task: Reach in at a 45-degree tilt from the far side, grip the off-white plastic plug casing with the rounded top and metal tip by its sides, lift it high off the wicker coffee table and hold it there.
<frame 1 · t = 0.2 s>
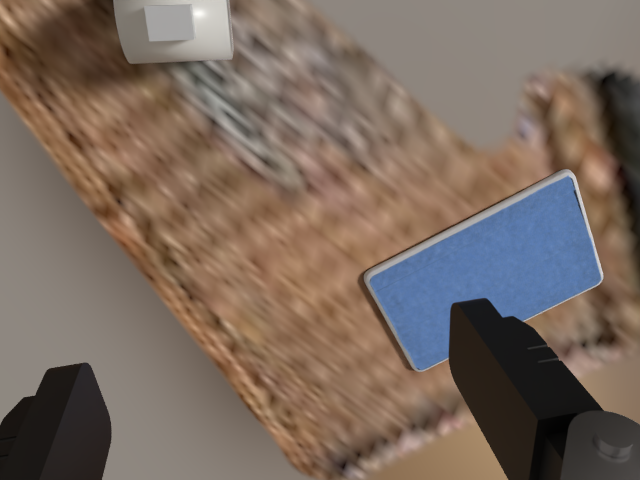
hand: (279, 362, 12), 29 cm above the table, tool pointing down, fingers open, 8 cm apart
plug casing: (187, 14, 34), on the table
tablet computer: (483, 272, 47), on the table
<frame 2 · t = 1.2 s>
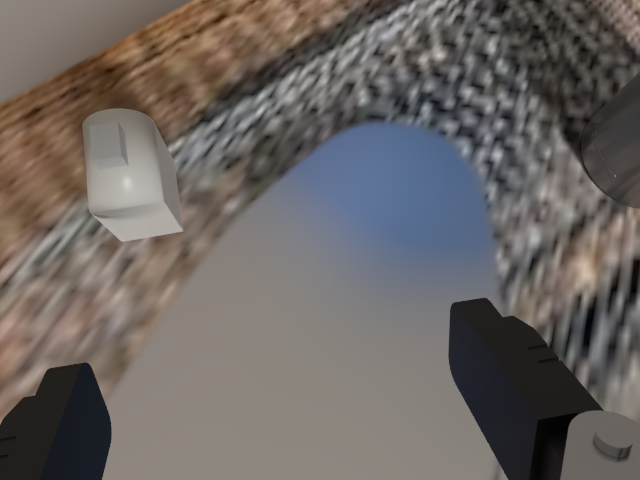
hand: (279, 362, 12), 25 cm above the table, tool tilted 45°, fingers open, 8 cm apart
plug casing: (148, 201, 39), on the table
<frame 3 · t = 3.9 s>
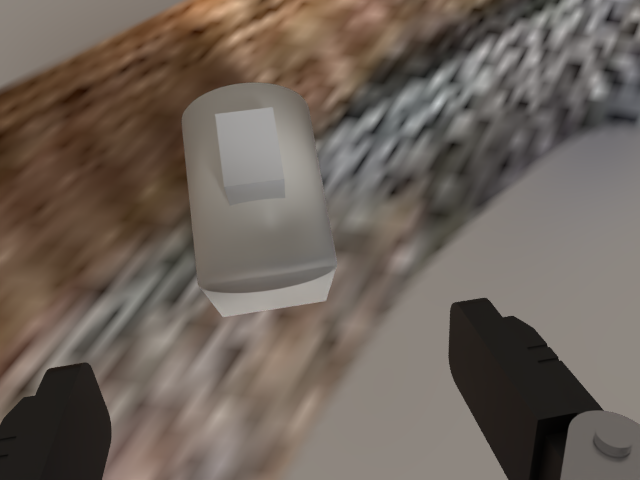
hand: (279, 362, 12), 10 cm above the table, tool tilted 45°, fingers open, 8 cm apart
plug casing: (265, 246, 23), on the table
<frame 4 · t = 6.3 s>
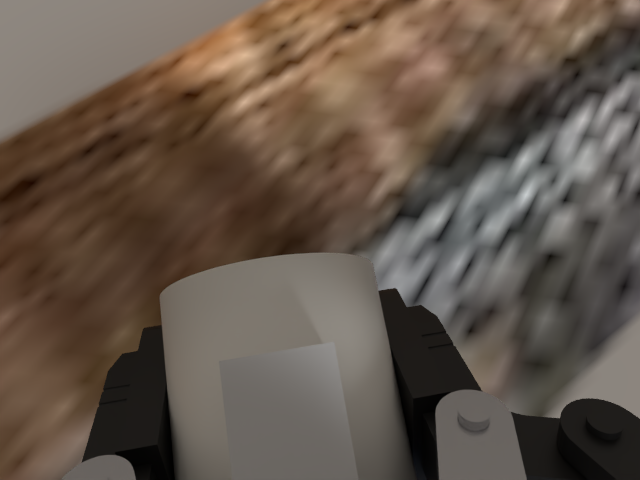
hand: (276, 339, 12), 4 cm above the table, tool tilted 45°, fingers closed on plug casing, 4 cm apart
plug casing: (290, 419, 16), on the table, touching gripper
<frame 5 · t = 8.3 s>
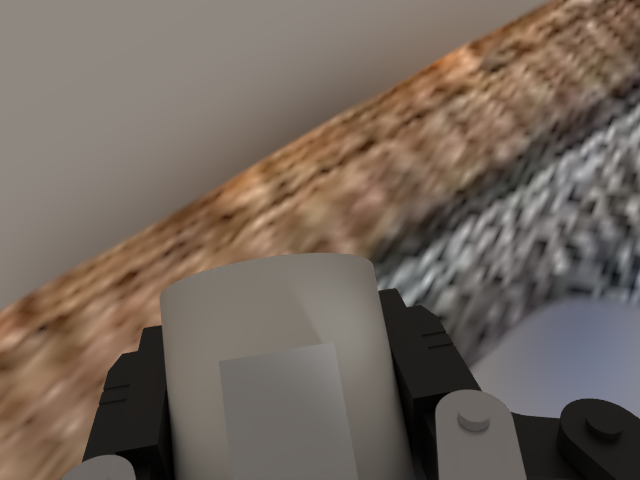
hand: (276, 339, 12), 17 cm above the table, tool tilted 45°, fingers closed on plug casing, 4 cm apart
plug casing: (290, 419, 16), point 13 cm above the table, touching gripper
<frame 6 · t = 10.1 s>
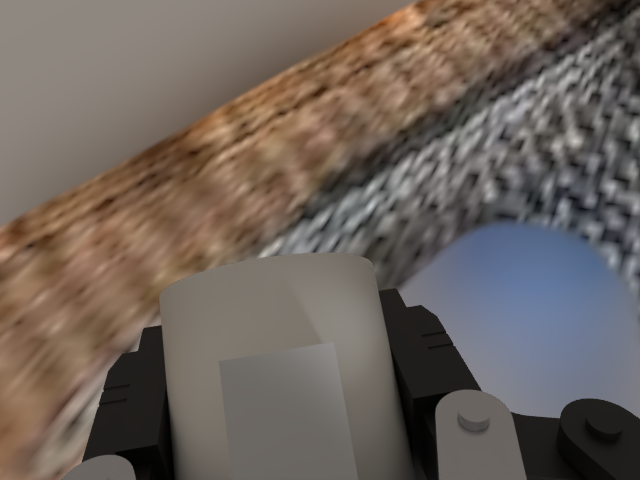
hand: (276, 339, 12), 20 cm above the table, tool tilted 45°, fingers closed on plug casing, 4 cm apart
plug casing: (290, 419, 16), point 16 cm above the table, touching gripper
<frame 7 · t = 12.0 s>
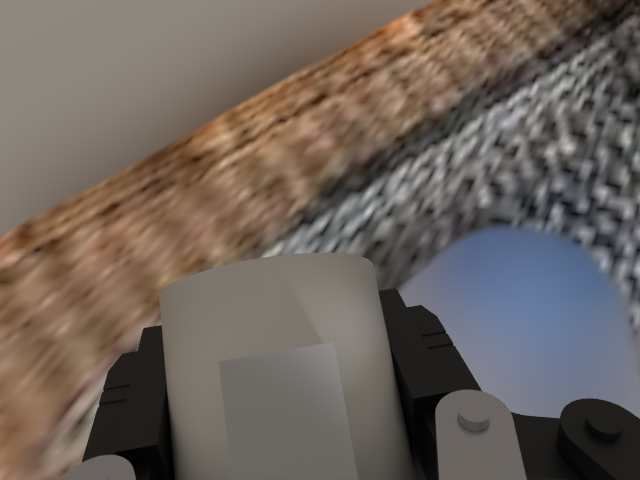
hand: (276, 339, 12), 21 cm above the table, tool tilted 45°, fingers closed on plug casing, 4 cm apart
plug casing: (290, 419, 16), point 17 cm above the table, touching gripper
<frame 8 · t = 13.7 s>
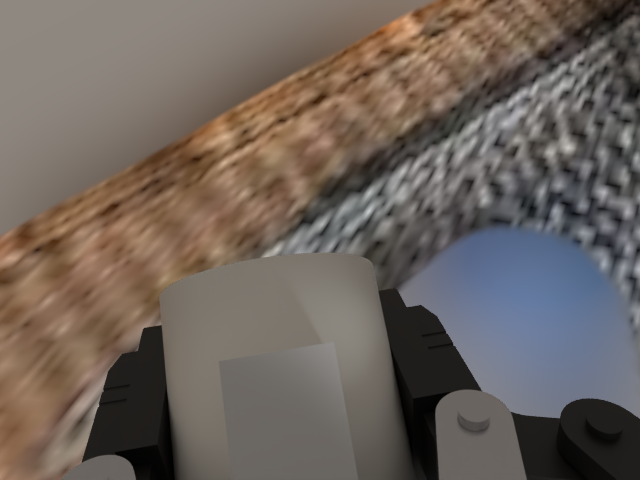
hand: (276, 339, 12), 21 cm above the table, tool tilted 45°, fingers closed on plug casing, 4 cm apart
plug casing: (290, 419, 16), point 17 cm above the table, touching gripper
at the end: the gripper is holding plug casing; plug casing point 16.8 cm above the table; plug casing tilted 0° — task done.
